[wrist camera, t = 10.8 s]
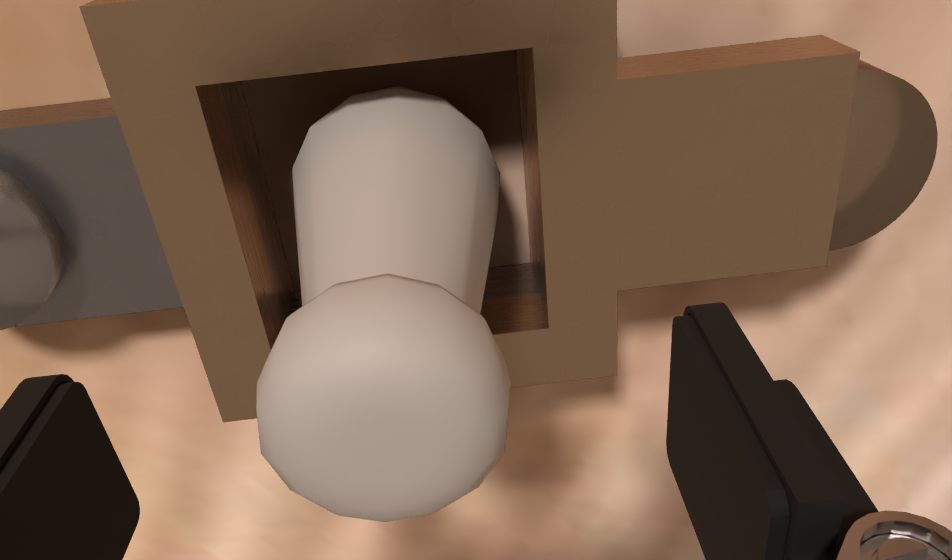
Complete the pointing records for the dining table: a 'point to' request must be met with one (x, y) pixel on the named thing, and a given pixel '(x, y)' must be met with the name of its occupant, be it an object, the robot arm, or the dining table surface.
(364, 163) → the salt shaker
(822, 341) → the dining table surface
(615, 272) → the upper end link
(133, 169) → the lower end link
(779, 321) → the dining table surface
